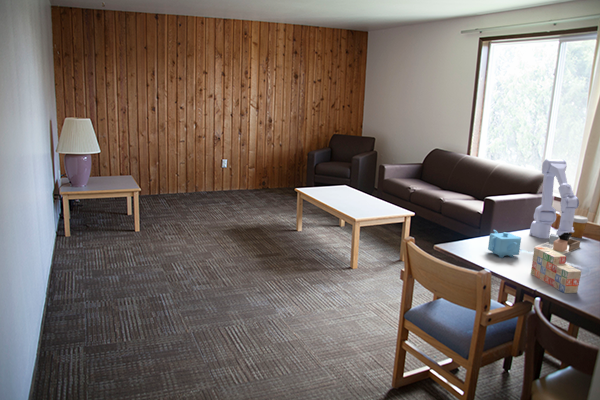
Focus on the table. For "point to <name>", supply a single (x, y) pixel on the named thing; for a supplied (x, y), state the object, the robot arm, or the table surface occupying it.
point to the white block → (553, 238)
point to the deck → (555, 250)
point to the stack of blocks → (555, 270)
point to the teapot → (504, 244)
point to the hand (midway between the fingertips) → (562, 246)
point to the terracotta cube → (560, 245)
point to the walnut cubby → (573, 244)
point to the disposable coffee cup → (579, 226)
